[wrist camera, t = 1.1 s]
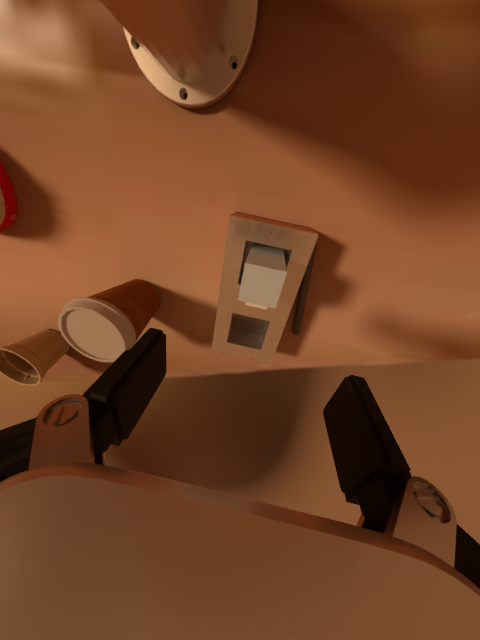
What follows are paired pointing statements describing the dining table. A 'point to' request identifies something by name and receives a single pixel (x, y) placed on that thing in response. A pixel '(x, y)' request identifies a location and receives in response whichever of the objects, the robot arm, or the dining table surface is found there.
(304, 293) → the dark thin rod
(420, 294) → the dining table surface
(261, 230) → the panel
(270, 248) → the plug
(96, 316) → the disposable coffee cup
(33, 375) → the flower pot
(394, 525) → the robot arm
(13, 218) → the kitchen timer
